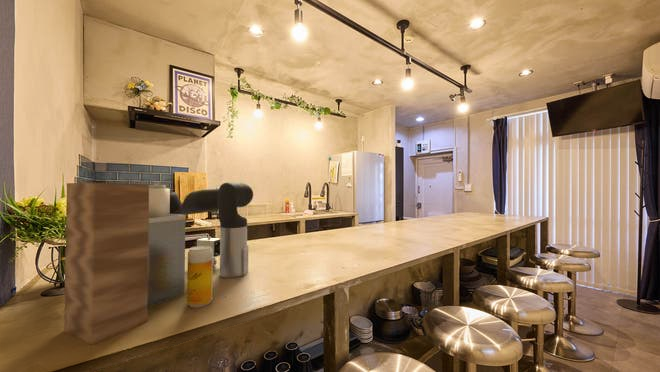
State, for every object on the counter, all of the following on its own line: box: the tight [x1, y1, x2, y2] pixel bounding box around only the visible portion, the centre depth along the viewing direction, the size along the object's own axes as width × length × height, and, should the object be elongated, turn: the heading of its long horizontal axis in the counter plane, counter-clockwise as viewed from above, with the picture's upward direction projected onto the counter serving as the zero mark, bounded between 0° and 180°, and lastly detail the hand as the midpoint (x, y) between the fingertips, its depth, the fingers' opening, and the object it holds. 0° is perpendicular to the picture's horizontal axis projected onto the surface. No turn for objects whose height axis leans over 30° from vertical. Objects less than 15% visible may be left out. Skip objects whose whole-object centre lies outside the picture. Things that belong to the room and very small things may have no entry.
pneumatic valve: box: [192, 235, 220, 267], centre depth 101 cm, size 6×12×12 cm, turn 78°
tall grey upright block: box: [147, 214, 186, 309], centre depth 72 cm, size 10×10×23 cm
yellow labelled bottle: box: [186, 246, 214, 309], centre depth 68 cm, size 6×6×15 cm
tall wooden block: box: [63, 182, 150, 346], centre depth 57 cm, size 12×10×32 cm
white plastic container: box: [149, 184, 171, 218], centre depth 75 cm, size 18×6×10 cm, turn 65°
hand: (131, 204), depth 77 cm, fingers open, 8 cm apart
